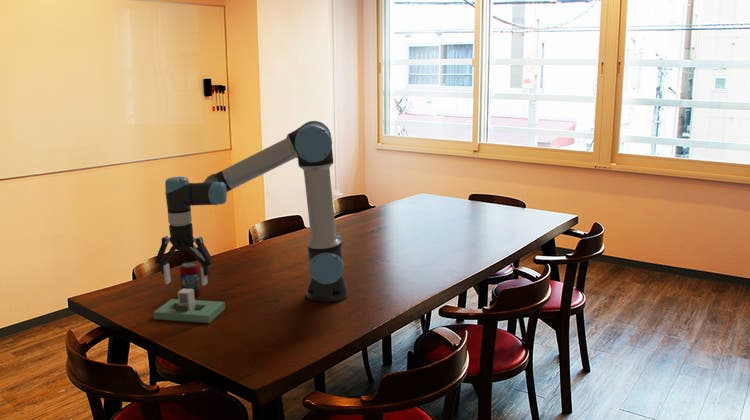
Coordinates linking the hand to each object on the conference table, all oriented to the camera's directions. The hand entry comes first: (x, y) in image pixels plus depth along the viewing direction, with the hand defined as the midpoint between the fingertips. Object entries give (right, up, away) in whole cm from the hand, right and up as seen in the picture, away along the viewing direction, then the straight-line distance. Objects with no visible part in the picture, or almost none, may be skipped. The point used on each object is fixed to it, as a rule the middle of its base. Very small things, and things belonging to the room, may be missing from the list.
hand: (186, 283), depth 233 cm
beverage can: (-4, -7, +21) cm, 22 cm away
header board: (+1, -11, +2) cm, 11 cm away
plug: (0, -10, +2) cm, 11 cm away
